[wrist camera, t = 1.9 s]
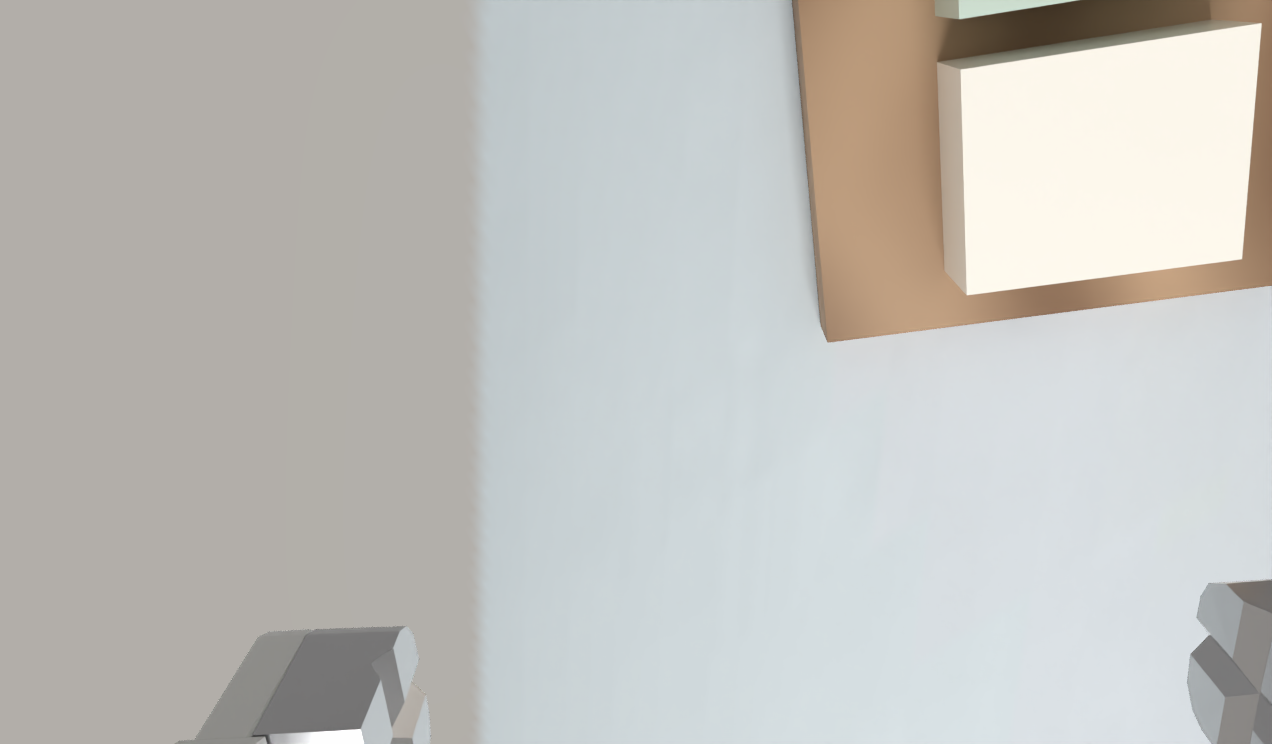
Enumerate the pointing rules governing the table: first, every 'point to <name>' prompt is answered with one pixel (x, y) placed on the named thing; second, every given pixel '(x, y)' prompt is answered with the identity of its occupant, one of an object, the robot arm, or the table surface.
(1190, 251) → the tile cream
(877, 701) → the table surface
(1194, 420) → the table surface
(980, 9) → the tile sage
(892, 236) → the board
